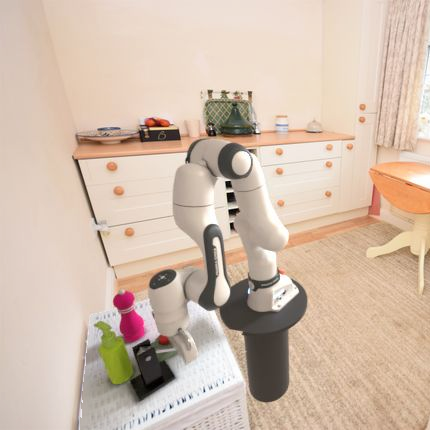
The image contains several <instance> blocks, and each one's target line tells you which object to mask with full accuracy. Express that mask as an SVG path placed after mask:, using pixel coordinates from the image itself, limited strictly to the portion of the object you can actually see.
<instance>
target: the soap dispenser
mask: <svg viewBox="0 0 430 430" xmlns="http://www.w3.org/2000/svg"><path fill="white" fill-rule="evenodd" d="M93 327H94V328H96V329H99V330H100V331H101V332H102V335H101V336H100V341H101V344H100V345H99V346H98V352H99V354H100V356H101V360H102V362H103V365H104V368H105V370H106V373H107V375H108V378H109V381H110V383H111V384H113V385H121V384H124V383H126V382H127V381H129V380H131V379H132V376H133V374H134V368H133V364H132V362H131V359H130V355H129V352H128V349H127V347H126V344H125V340H124V337H121V336H117V335H116V332H115V331H113V330H112V329H113V327H112V326H111V325H110V324H108V323H107V322H105V321H102V320H99V321H98V322H96V323H94V324H93Z"/></svg>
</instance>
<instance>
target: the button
mask: <svg viewBox="0 0 430 430" xmlns="http://www.w3.org/2000/svg"><path fill="white" fill-rule="evenodd" d="M159 335H160V336H159ZM159 335H158V336H159V341H160V344H161V345H166V344H169V343H170V341H169V340H168V338H167V337H166V336H163V335H161V334H159Z"/></svg>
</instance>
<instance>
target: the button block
mask: <svg viewBox="0 0 430 430" xmlns="http://www.w3.org/2000/svg"><path fill="white" fill-rule="evenodd" d="M160 335H161V334H159V335H158V336H157V337H156V338H155V339H154V341H152V342H150V343H151V347H154V348H162V347H169V346H172V345H171V343H169V344H166V345H161V344H160V341H159V336H160ZM156 354H157V358H158V361H159V363H160V362H162V361H163V360H165V361H166V360H168V359H169V358H171V357H173V356H174V355H176V354H178V352H177V351H169V352H162V353H156Z"/></svg>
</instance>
